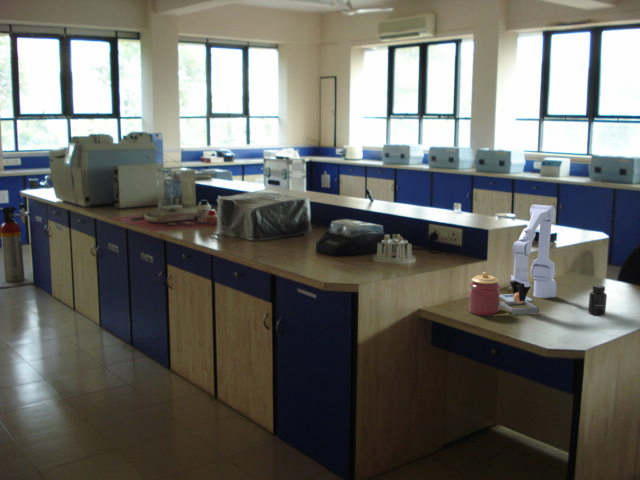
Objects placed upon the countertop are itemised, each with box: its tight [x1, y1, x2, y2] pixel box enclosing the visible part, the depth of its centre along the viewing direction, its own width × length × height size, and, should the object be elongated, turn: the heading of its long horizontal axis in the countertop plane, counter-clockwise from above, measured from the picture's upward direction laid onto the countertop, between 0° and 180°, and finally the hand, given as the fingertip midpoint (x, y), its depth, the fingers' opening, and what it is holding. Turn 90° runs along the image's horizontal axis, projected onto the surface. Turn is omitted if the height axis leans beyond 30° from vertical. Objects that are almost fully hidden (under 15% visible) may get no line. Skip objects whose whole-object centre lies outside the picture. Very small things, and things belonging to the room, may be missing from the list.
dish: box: [500, 293, 534, 303], centre depth 307 cm, size 11×11×2 cm
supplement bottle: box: [587, 284, 608, 316], centre depth 286 cm, size 7×7×12 cm
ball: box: [513, 292, 524, 303], centre depth 292 cm, size 5×5×5 cm
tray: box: [499, 301, 540, 315], centre depth 293 cm, size 12×12×2 cm
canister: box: [468, 271, 501, 316], centre depth 289 cm, size 13×13×18 cm
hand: (519, 299), depth 292 cm, fingers closed on ball, 5 cm apart
